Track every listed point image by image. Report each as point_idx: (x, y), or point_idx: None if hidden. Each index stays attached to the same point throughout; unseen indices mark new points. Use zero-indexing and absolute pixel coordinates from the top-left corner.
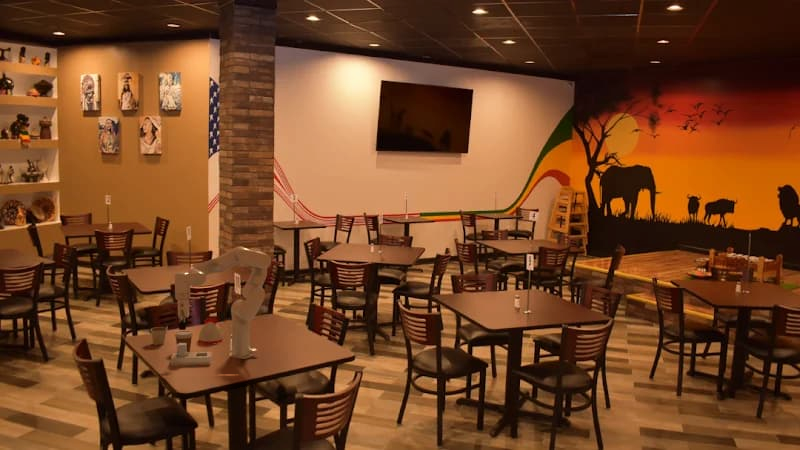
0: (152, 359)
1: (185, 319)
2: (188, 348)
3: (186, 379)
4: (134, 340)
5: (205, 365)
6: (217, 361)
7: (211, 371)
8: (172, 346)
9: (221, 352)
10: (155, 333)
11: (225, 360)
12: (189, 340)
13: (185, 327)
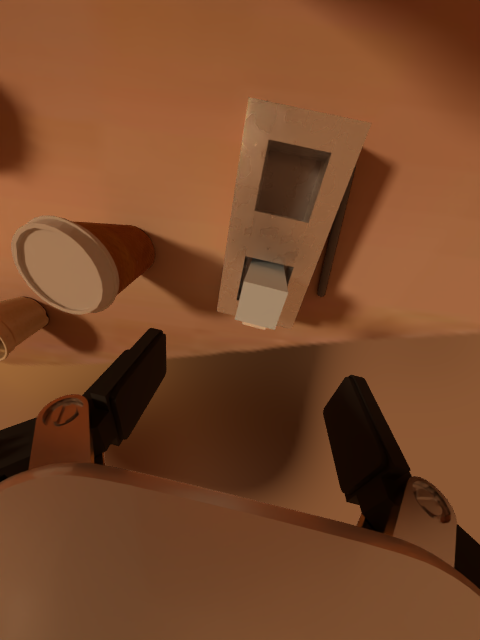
0: (189, 346)
1: (133, 391)
2: (132, 235)
3: (465, 281)
4: (23, 359)
5: (352, 172)
6: (276, 79)
7: (437, 145)
8: None
9: (107, 22)
10: (13, 344)
11: (273, 4)
12: (107, 237)
13: (373, 397)
